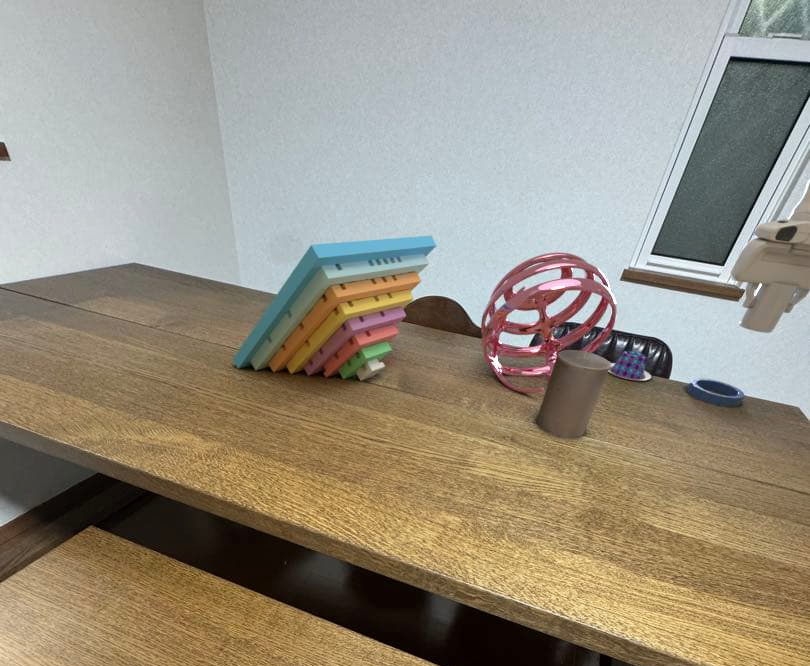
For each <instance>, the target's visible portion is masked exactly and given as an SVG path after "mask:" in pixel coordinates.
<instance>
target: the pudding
mask: <svg viewBox="0 0 810 666" xmlns="http://www.w3.org/2000/svg"><path fill="white" fill-rule="evenodd" d="M646 362H647V357H646V356H645V355H644V354H643V353H640V352H638V351H632V350H628V351H627V350H625V351H623V352H622V353H621V355H619V358H618V359H617V360H616V362H610V363H611V366H610V368H611V371H610V370H609V371H608V373H610V374H612V375H613V376H616V377H619V378H623V379H626V380H631V381H634V379H635V380H638V381H639V382H640V381H648V380H651V379H652V375H651V374H650V372H648V371H646V370H645V368H646ZM644 376H645V377H644ZM643 377H644V378H643ZM641 378H643V379H641Z"/></svg>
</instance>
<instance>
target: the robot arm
mask: <svg viewBox="0 0 810 666" xmlns="http://www.w3.org/2000/svg"><path fill="white" fill-rule="evenodd" d="M753 236H754V237H755V238H752V239H750V240H749V241H748V242H747V243H745V245H744V246H743V248H742V250H740V251H741V252H740V253H739V255H738V256H737V258H736V259H735V262H734V263H733V265H732V268H731V269H730V272H729V273H730V279H732V280H733V281H736V282H740V283H747V285H746V286H745V299H744V301H743V303H742V307H743V308H745V309H747V308H753V307H754V304H755V303H756V302H757V300H756V299H754V295H755V291H757V290H758V288H759V286H760V284H763V285H770V284H771V283H772V282H775V283H780V284H785V285H795V286H796V285H799V287H798V289H797V291H796V292H795V294H794V296H793V298H792V299H791V301H790V303H789V304H788V306H787V308H786V309H785V311H784V313H785V314H790V313H792V310H793V308H794V307H795V306H796V305H797V304H798V303H800V302H801V301H802V300H804V299H805V298H806V297H807V296H808V294H809V292H810V178H809V179H808V181H807V184H806V187H805V190H804V193H803V195H802V197H801V199H800V200H799V202H798V203H797V204H796V205H795V206H794V208H793V209H792V211H791V213H790V215H789V217H786V218H781V219H777V220H773V221H769V222H762V223H760V224H758V225H757V226H756V227H755V230H754V232H753ZM784 313H783V314H784Z"/></svg>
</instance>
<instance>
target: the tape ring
mask: <svg viewBox="0 0 810 666" xmlns="http://www.w3.org/2000/svg"><path fill="white" fill-rule="evenodd" d="M709 390H710V391H709ZM711 390H712V391H715V392H712V391H711ZM686 392H687V393H688V394H689V395H690V396H691V397H693V398H696V399H698V400H700V401H703V402H705V403H709V404H711V405H712V404H713V405H715V406H722V407H730V408H731V407H737V406H739V405H740V404H741V403H742V402H743V399H744V398H745V392H743V391H742V389H740V388H738V387H736V386H735V385H731V384H729V383H727V382H723V381H721V380H720V381H719V380H716V379H711V378H704V377H703V378H702V377H701V378H699V377H698V378H693V379H691V380H690V382H689V383H688V385H687V387H686ZM716 392H718V393H716ZM720 393H721V394H720Z"/></svg>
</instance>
